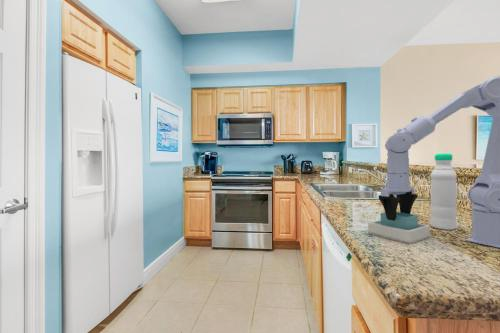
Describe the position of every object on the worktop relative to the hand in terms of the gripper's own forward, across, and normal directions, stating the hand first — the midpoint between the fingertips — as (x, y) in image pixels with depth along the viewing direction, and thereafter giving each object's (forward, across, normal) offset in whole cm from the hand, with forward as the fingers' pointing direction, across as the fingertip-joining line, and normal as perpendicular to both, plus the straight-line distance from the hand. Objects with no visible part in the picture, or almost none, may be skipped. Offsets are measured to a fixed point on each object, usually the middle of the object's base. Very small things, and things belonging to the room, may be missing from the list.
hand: (398, 218), depth 76 cm
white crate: (+5, 0, 0) cm, 5 cm away
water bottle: (+6, -22, +3) cm, 23 cm away
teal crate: (+5, 0, 0) cm, 5 cm away
